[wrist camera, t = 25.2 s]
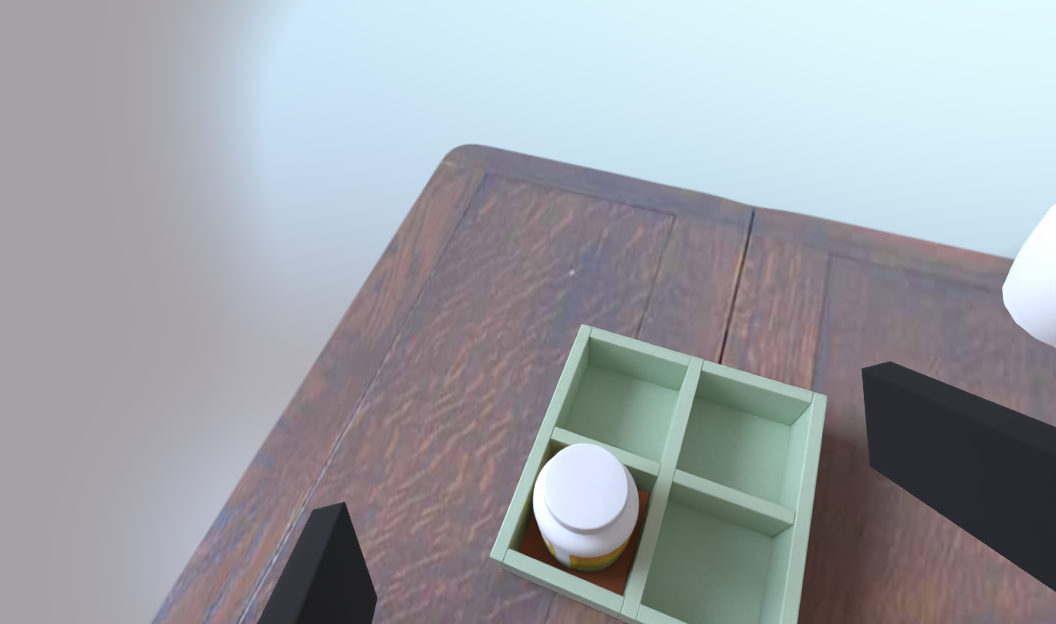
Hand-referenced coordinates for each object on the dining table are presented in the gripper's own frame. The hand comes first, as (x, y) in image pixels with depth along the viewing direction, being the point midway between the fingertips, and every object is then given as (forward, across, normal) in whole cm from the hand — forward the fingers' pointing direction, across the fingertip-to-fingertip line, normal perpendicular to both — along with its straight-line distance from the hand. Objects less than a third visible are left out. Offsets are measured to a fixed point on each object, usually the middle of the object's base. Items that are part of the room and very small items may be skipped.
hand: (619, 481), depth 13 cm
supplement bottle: (+18, 0, -13) cm, 22 cm away
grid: (+19, +5, -13) cm, 23 cm away
